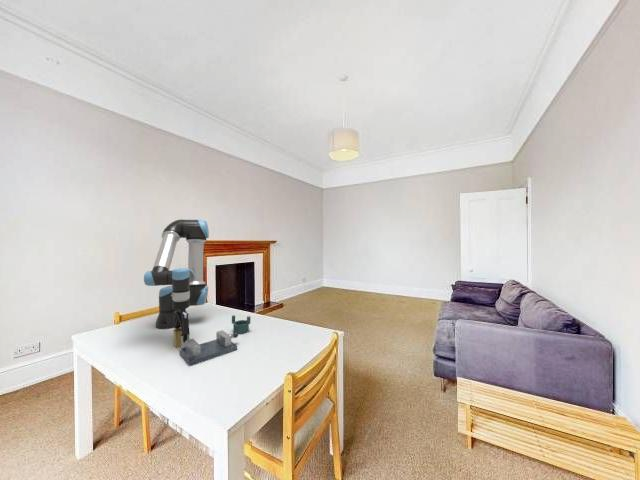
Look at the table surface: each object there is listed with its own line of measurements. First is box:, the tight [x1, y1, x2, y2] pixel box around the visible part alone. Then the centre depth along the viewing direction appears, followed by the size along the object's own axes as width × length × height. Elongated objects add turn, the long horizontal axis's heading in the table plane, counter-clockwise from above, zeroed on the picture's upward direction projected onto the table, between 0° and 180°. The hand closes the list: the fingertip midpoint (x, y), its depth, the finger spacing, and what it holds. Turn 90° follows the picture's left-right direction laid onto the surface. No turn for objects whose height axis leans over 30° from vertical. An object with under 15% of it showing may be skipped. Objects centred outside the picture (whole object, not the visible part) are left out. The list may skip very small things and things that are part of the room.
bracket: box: [231, 314, 251, 335], centre depth 141 cm, size 9×9×9 cm
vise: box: [179, 338, 238, 367], centre depth 116 cm, size 14×21×6 cm, turn 135°
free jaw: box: [215, 329, 239, 347], centre depth 122 cm, size 10×9×4 cm
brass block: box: [172, 328, 190, 349], centre depth 123 cm, size 4×6×8 cm, turn 135°
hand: (181, 344), depth 123 cm, fingers open, 10 cm apart
